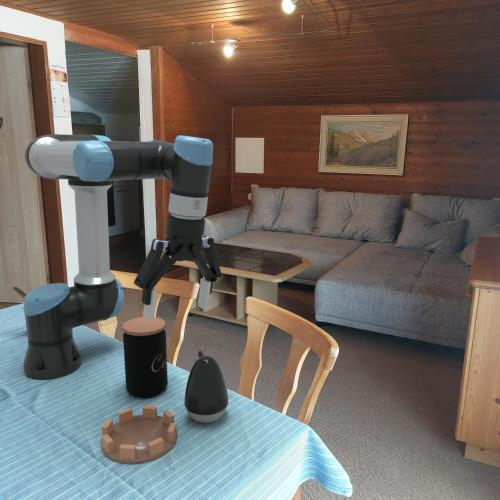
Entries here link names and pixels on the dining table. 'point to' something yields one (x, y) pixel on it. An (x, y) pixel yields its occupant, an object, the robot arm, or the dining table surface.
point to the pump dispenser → (206, 390)
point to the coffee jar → (145, 357)
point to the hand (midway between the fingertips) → (176, 313)
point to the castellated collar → (139, 436)
